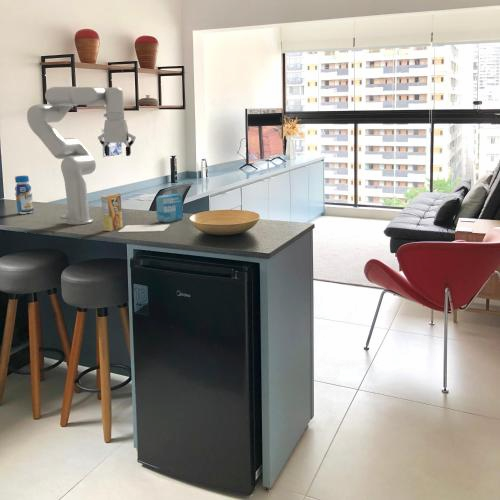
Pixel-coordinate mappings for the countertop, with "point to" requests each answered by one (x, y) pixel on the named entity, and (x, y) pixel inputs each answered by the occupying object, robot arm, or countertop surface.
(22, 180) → the beverage bottle
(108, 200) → the candy box
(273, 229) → the countertop surface
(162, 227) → the felt mat
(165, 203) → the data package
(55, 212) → the countertop surface
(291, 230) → the countertop surface
